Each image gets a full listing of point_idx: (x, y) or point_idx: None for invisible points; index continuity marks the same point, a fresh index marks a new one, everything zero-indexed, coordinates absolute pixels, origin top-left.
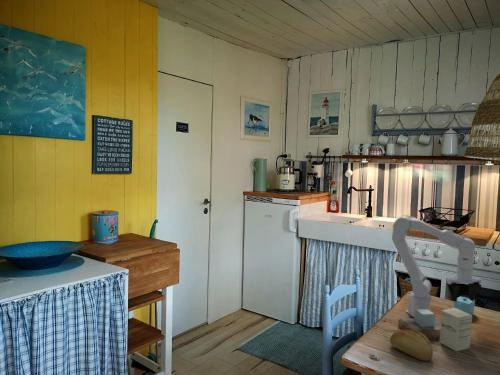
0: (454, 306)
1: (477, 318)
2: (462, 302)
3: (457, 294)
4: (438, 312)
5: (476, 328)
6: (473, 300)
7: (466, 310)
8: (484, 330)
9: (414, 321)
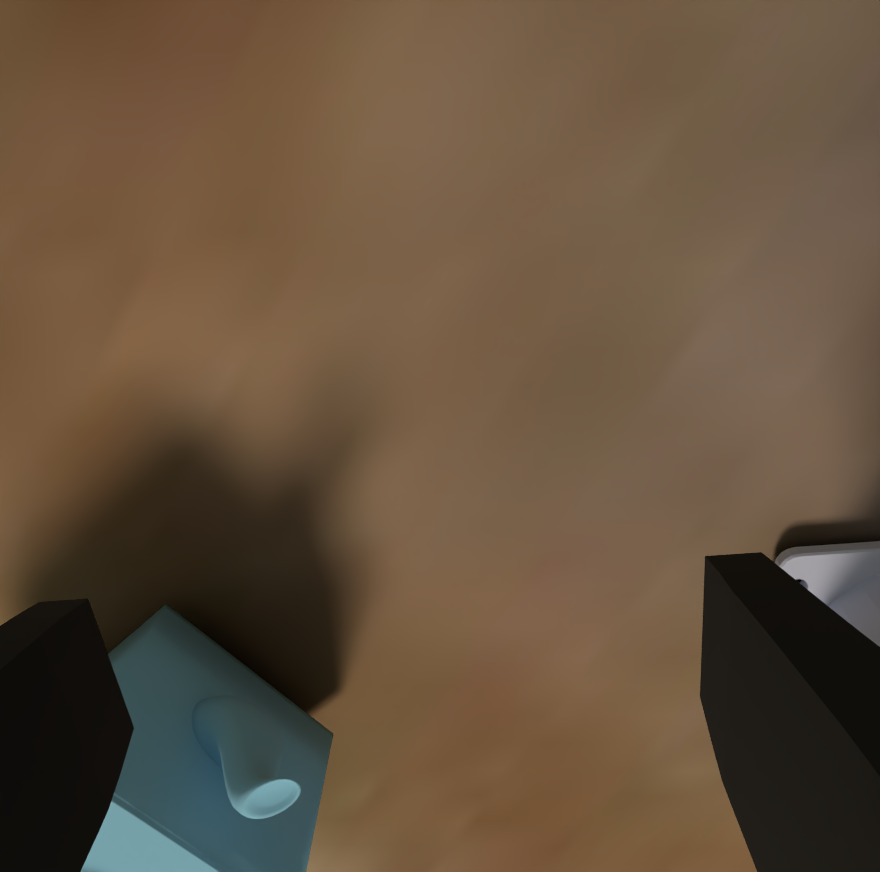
0: (311, 810)
1: (33, 583)
2: (182, 840)
3: (857, 741)
4: (533, 760)
5: (225, 215)
6: (39, 609)
7: (164, 690)
8: (113, 129)
9: None
